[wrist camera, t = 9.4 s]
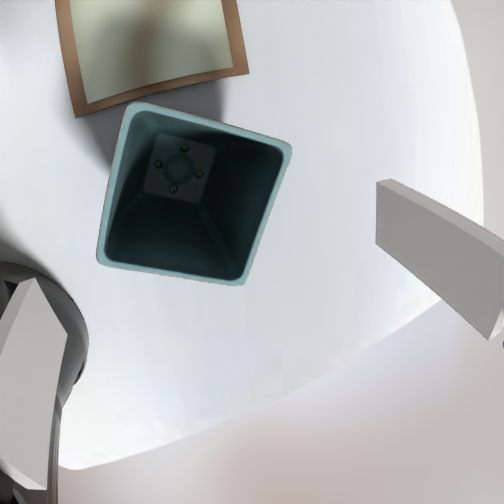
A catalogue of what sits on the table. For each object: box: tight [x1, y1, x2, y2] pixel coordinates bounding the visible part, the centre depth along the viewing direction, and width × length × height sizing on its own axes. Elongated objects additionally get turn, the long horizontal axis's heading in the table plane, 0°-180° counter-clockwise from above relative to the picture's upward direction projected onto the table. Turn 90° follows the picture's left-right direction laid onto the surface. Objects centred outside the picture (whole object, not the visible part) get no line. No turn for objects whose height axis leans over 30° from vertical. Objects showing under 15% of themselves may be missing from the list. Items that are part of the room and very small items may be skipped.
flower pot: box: [96, 101, 292, 286], centre depth 20 cm, size 9×9×9 cm
